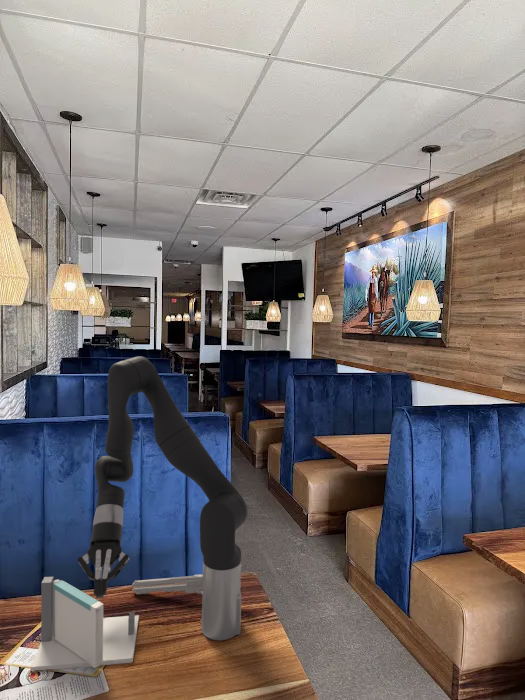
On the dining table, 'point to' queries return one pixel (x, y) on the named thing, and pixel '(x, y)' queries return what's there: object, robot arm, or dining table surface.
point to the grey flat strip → (191, 586)
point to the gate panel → (78, 622)
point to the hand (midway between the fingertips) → (99, 597)
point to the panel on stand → (56, 656)
